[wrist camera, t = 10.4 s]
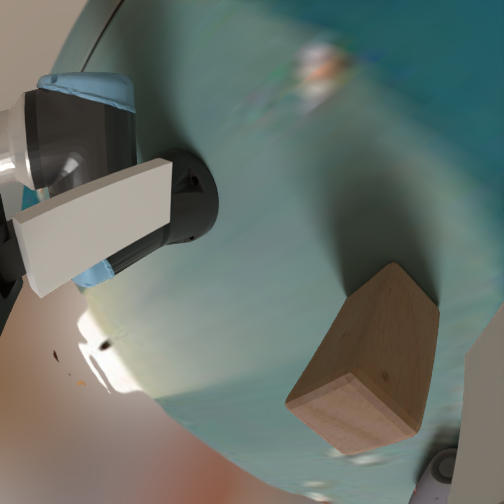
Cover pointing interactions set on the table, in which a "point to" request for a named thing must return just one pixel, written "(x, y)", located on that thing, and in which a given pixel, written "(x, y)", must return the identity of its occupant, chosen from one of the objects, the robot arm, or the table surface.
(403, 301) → the wooden block
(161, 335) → the table surface
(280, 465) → the table surface
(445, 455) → the bluetooth speaker
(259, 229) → the table surface
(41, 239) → the robot arm
